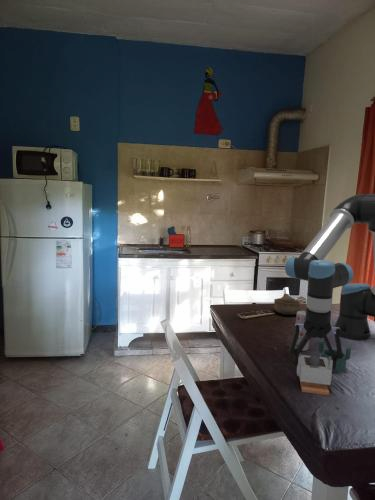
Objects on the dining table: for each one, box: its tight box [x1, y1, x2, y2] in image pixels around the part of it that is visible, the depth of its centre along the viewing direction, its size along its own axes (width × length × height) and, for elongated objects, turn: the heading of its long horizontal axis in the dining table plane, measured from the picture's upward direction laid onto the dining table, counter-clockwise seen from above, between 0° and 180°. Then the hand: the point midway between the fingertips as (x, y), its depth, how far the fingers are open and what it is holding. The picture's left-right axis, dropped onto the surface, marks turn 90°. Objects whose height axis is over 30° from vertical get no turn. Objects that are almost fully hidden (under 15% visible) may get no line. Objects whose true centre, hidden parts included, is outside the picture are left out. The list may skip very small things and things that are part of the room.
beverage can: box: [294, 310, 310, 352], centre depth 143 cm, size 6×6×15 cm
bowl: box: [273, 293, 301, 316], centre depth 190 cm, size 18×14×10 cm
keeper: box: [298, 352, 330, 396], centre depth 115 cm, size 8×12×10 cm, turn 167°
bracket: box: [317, 339, 352, 373], centre depth 127 cm, size 9×9×9 cm
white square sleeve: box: [299, 354, 333, 386], centre depth 115 cm, size 9×9×5 cm
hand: (313, 375), depth 115 cm, fingers closed on white square sleeve, 9 cm apart
